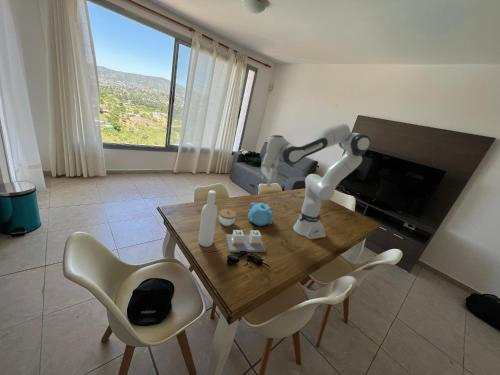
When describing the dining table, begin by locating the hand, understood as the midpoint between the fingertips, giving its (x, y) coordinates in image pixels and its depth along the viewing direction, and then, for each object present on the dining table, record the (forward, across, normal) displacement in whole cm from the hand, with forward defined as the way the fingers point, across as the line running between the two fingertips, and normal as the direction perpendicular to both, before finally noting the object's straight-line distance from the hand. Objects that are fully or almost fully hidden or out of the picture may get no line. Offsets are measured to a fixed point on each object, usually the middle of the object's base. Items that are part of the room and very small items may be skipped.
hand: (265, 183), depth 128 cm
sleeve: (+28, -22, +8) cm, 36 cm away
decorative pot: (+29, +2, -2) cm, 30 cm away
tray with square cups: (+29, -22, +13) cm, 39 cm away
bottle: (+29, -21, +35) cm, 50 cm away
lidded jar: (+29, -2, +21) cm, 36 cm away
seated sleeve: (+28, -22, +18) cm, 40 cm away
